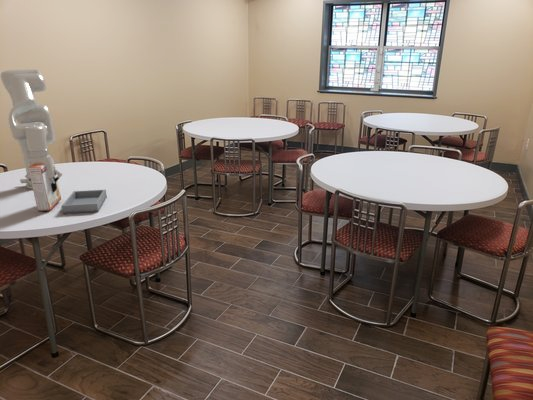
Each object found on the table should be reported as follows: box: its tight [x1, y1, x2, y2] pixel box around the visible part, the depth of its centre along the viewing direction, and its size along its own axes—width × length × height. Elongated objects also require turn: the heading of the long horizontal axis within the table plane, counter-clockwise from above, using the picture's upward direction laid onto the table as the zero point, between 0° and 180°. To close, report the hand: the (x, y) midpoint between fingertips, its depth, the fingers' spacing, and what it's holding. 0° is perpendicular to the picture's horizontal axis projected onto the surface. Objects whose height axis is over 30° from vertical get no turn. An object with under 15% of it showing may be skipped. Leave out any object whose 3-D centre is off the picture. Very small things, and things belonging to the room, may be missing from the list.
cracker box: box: [28, 158, 62, 212], centre depth 187 cm, size 14×6×21 cm, turn 5°
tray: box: [61, 189, 108, 215], centre depth 193 cm, size 15×20×4 cm
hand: (46, 190), depth 188 cm, fingers closed on cracker box, 6 cm apart
